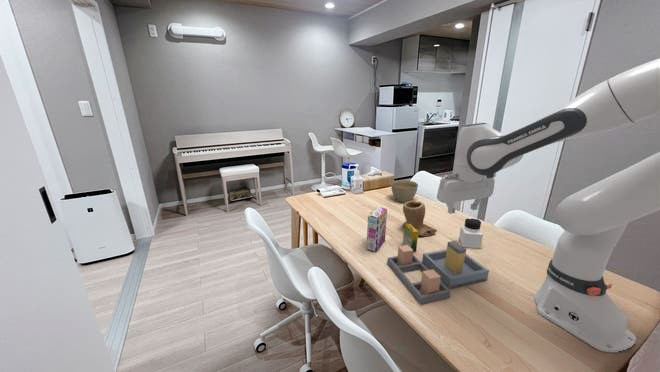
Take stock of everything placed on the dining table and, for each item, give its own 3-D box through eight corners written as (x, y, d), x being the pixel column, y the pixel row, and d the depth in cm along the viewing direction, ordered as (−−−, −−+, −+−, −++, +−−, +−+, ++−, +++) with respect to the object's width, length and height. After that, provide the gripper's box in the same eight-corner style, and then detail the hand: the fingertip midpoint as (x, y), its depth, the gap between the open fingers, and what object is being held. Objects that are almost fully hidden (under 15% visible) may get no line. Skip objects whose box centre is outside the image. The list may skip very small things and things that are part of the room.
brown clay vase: (395, 228, 133) (397, 200, 128) (412, 222, 139) (414, 195, 134) (420, 241, 121) (423, 211, 116) (437, 234, 127) (440, 205, 122)
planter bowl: (400, 193, 179) (401, 178, 175) (421, 200, 167) (423, 184, 163) (385, 199, 169) (385, 183, 166) (406, 207, 157) (407, 190, 154)
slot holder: (449, 297, 87) (450, 291, 87) (420, 304, 85) (421, 298, 84) (411, 258, 108) (412, 253, 108) (387, 263, 106) (387, 257, 105)
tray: (487, 280, 95) (489, 270, 94) (449, 288, 91) (450, 279, 90) (455, 255, 110) (457, 247, 108) (422, 262, 106) (423, 253, 104)
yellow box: (462, 272, 98) (466, 249, 94) (455, 274, 97) (459, 250, 94) (451, 263, 103) (454, 240, 100) (444, 264, 102) (447, 241, 99)
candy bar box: (376, 253, 113) (378, 218, 107) (366, 249, 115) (367, 215, 110) (385, 241, 122) (387, 208, 116) (375, 238, 124) (377, 206, 119)
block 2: (437, 296, 88) (440, 276, 85) (427, 299, 87) (429, 278, 84) (430, 288, 92) (432, 269, 89) (420, 290, 90) (422, 271, 88)
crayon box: (416, 251, 113) (419, 227, 109) (410, 252, 112) (412, 228, 109) (408, 242, 120) (410, 219, 116) (402, 243, 119) (404, 220, 115)
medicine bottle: (480, 248, 114) (485, 224, 110) (462, 247, 116) (466, 222, 112) (475, 240, 121) (479, 216, 117) (458, 239, 122) (462, 215, 118)
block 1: (411, 268, 102) (413, 250, 100) (402, 269, 101) (403, 251, 99) (405, 262, 106) (407, 244, 103) (397, 263, 105) (398, 246, 102)
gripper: (447, 178, 82) (443, 218, 87) (500, 172, 88) (493, 210, 92) (435, 173, 88) (431, 211, 93) (485, 167, 93) (479, 204, 98)
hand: (462, 211), depth 92 cm, fingers open, 8 cm apart
